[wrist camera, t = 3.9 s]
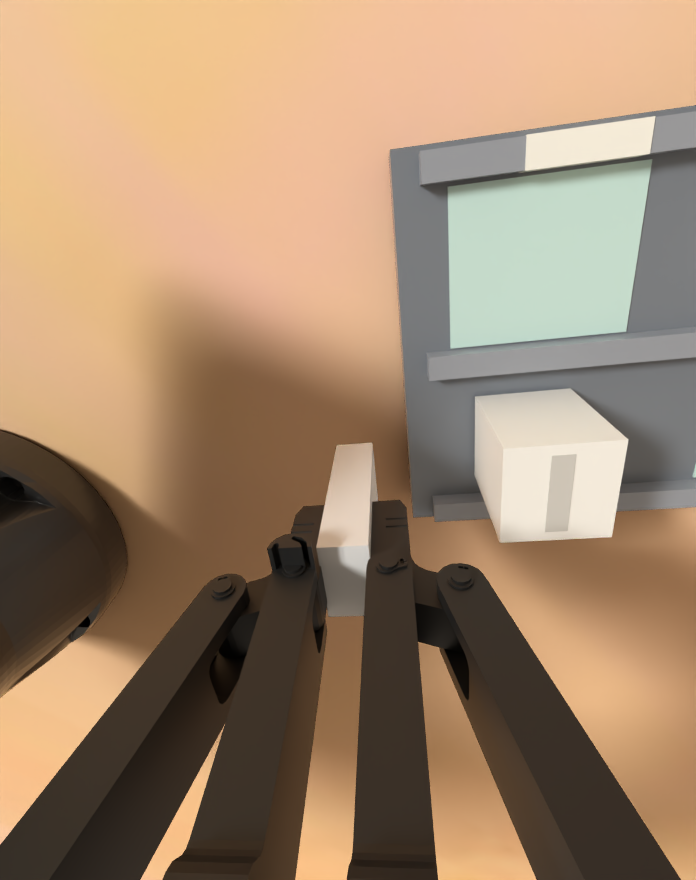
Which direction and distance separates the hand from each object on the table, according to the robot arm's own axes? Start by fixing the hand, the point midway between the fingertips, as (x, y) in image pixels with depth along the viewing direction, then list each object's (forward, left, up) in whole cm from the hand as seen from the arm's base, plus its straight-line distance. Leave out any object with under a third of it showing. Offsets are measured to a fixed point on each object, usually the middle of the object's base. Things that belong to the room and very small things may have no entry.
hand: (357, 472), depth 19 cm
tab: (+7, 0, -2) cm, 8 cm away
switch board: (+13, +4, -5) cm, 15 cm away
